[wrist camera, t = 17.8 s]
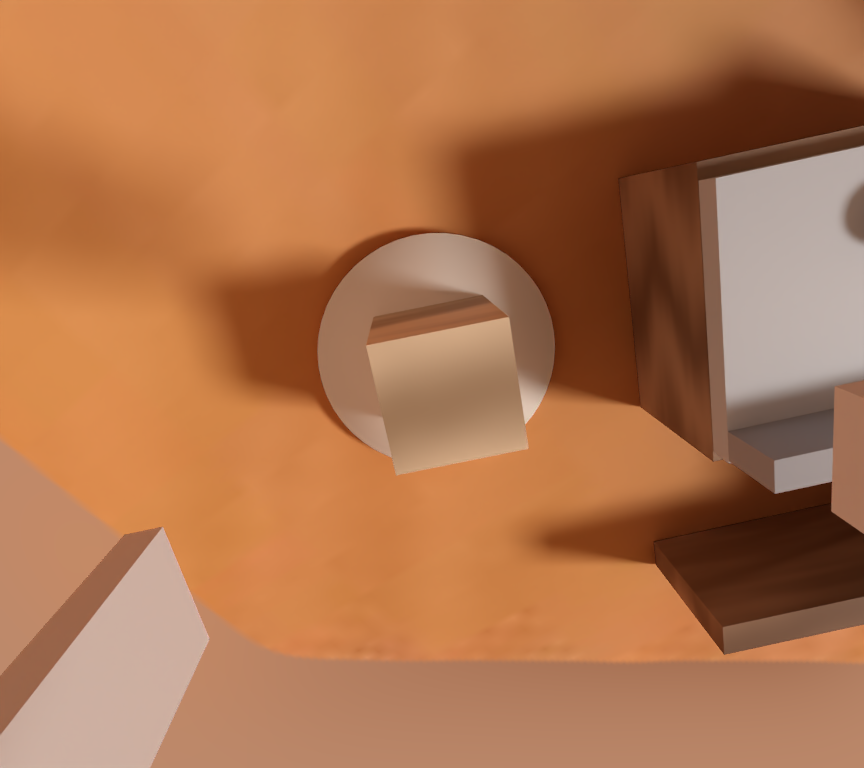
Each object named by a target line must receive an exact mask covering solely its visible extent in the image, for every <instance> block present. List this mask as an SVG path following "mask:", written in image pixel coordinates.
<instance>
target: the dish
mask: <svg viewBox="0 0 864 768" xmlns="http://www.w3.org/2000/svg"><path fill="white" fill-rule="evenodd" d="M480 295H483V296H484V297H486V298H487V299H488V300H489V301H490V302H492V303H493V304H494V305H495V306H497V307H498V308H499V309H500V310H501V311H503V312H504V313H505V314H506V315H507V316H509V320H510V326H511V333H512V340H513V347H514V353H515V360H516V367H517V374H518V380H519V387H520V394H521V400H522V407H523V414H524V421H525V424H526V423H527V422H528V420H529V419H530V418H531V417H532V416H533V414H534V413H535V411H536V409H537V408H538V406H539V405H540V403H541V401H542V399H543V397H544V395H545V393H546V391H547V388H548V385H549V382H550V379H551V375H552V370H553V365H554V356H555V339H554V329H553V324H552V320H551V316H550V313H549V310H548V307H547V304H546V302H545V300H544V298H543V296H542V294H541V292H540V290H539V288H538V287H537V285H536V284H535V283H534V281H533V280H532V278H531V277H530V276H529V275H528V273H527V272H526V271H525V270H524V269H523V268H522V267H521V266H520V265H519V264H518V263H517V262H515V261H514V260H513V259H512V258H510V257H509V256H508V255H507V254H505V253H504V252H502V251H500V250H499V249H497V248H495V247H494V246H492V245H489V244H487V243H485V242H482V241H480V240H477V239H474V238H470V237H466V236H463V235H456V234H448V233H425V234H418V235H412V236H408V237H405V238H401V239H398V240H395V241H393V242H390V243H388V244H386V245H384V246H382V247H380V248H378V249H377V250H375V251H373V252H372V253H370V254H369V255H367V256H366V257H365V258H364V259H362V260H361V261H360V262H359V263H358V264H356V265H355V266H354V267H353V268H352V269H351V270H350V272H349V273H348V274H347V275H346V276H345V277H344V278H343V279H342V281H341V282H340V284H339V285H338V287H337V288H336V289H335V291H334V293H333V295H332V296H331V298H330V300H329V302H328V304H327V306H326V309H325V312H324V315H323V318H322V321H321V326H320V330H319V335H318V349H317V353H318V367H319V372H320V377H321V381H322V384H323V387H324V390H325V393H326V396H327V398H328V400H329V402H330V403H331V405H332V407H333V409H334V411H335V412H336V414H337V415H338V417H339V418H340V419H341V421H342V422H343V423H344V424H345V425H346V426H347V428H348V429H349V430H350V431H351V432H352V433H353V434H354V435H356V436H357V437H358V438H359V439H360V440H361V441H363V442H364V443H365V444H367V445H369V446H370V447H372V448H373V449H375V450H376V451H379V452H381V453H383V454H385V455H387V456H389V457H392V456H391V451H390V447H389V443H388V438H387V434H386V430H385V425H384V421H383V417H382V413H381V408H380V404H379V400H378V395H377V391H376V387H375V382H374V378H373V374H372V369H371V365H370V361H369V357H368V352H367V348H366V343H367V340H368V336H369V332H370V328H371V325H372V321H373V317H375V316H380V315H385V314H390V313H395V312H400V311H405V310H410V309H415V308H420V307H425V306H430V305H435V304H440V303H445V302H450V301H455V300H460V299H465V298H470V297H475V296H480Z"/></svg>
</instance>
